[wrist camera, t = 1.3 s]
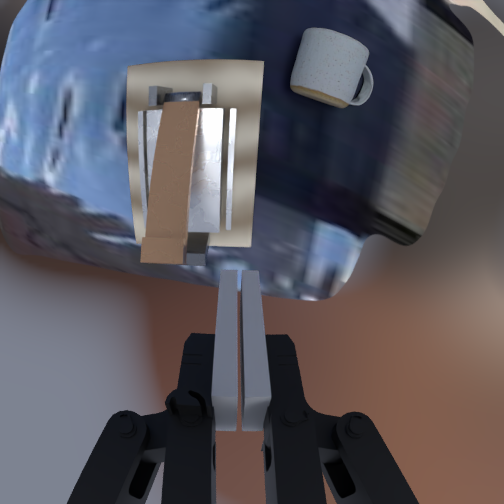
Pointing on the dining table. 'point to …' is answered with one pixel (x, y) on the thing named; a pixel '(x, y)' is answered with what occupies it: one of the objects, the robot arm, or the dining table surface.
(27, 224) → the dining table surface
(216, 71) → the board
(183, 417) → the robot arm
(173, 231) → the strap
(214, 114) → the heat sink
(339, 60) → the ceramic mug
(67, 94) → the dining table surface
